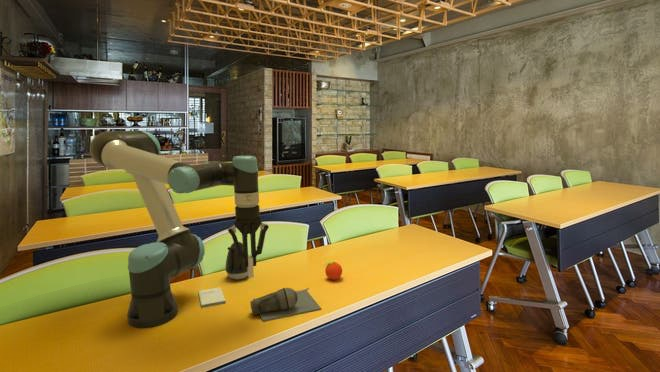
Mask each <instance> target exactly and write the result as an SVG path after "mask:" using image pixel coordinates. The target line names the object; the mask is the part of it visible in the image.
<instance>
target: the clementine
mask: <svg viewBox="0 0 660 372" xmlns="http://www.w3.org/2000/svg"><path fill="white" fill-rule="evenodd" d="M325 266H326V267H325ZM323 267H325V271H324V272H325V275H326V277H327V278H328V279H330V280H334V281H335V280H338V279H339V278H341V276H342V274H343V268H342V265H341V264H339V263H338V262H335V261H333V262H327V263H325V264H324V265H323Z"/></svg>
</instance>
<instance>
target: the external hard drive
mask: <svg viewBox="0 0 660 372" xmlns="http://www.w3.org/2000/svg"><path fill="white" fill-rule="evenodd" d="M197 293H198V298H199V303H200V307H201V309H202V308H209V307H212V306H213V307H214V306H218V305H223V304H226V302H227V301H226V299H225V296H224V293H223V291H222V288H221V287H220V286H219V287H214V288H208V289H203V290H202V289H201V290H199V291H197Z"/></svg>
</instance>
